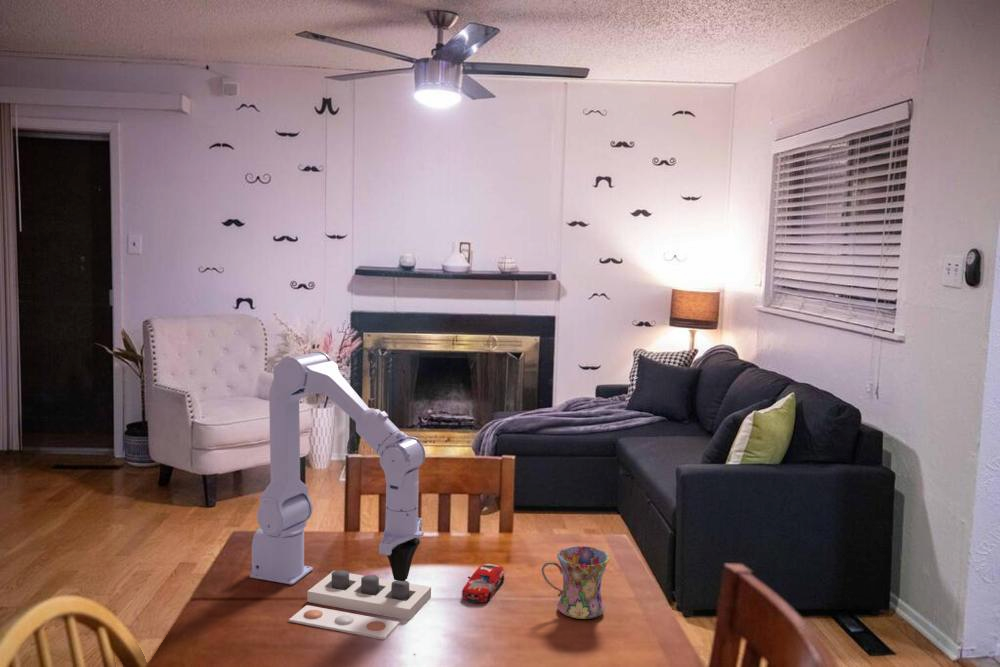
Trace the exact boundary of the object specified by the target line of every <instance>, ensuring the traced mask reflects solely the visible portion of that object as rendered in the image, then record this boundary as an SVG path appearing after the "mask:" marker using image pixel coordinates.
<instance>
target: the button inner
mask: <svg viewBox="0 0 1000 667" xmlns="http://www.w3.org/2000/svg"><path fill="white" fill-rule="evenodd" d="M333 571H334V572H333ZM333 571H332V572H333V573H332V572H331V573H332V588H334V589H340V590H345V589H347V588H349V573H350V572H349V571H348V570H344V569H343V570H342V569H339V570H333ZM345 591H346V590H345Z"/></svg>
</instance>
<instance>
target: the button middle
mask: <svg viewBox="0 0 1000 667" xmlns="http://www.w3.org/2000/svg"><path fill="white" fill-rule="evenodd" d="M379 578H380V577H379V576H377V575H374V574H367V575H363V577H362V578H361V593H362V594H368V595H374V596H376V595H375V594H377V593H378V592H379Z"/></svg>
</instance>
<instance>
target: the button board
mask: <svg viewBox="0 0 1000 667" xmlns="http://www.w3.org/2000/svg"><path fill="white" fill-rule="evenodd" d="M334 571H335V570H333V571H331V572H330V573H329V574H327V575H326V576H325V577H324V578H323V579H321V580H320V581H319V582H317V583H315V585H314V586H312V587H311V588H309V589H308V590H307V591H306V592H307V595H306V596H307V599H306V600H307V601H306V602H307V603H312V604H318V605H324V606H327V607H328V606H329V607H335V608H340V609H344V610H350V611H351V610H352V611H356V612H362V613H367V614H372V615H379V616H385V617H390V618H396V619H399V620H407V621H410V620H412V618H414V616H415V615H416V614H417V613H418V612H419V611H420V610H421V608H422V607H424V606H425V604H427V603H428V602H429V600H430V599H431V597H432V586H428V585H427V586H426V585H421V584H416V583H410V582H409V598H408V599H407V600H403V601H402V600H397V599H392V598H391V584H392V582H394V581H395V580H392V579H387V578H380V577H379V592H378V593H377V594H375V595H368V594H362V593H361V578H362V577H363V576H364V575H363V574H362V575H361V574H356V573H351V572H349V588H347V589H345V590H340V589H334V588H332V573H333V572H334Z"/></svg>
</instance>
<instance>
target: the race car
mask: <svg viewBox="0 0 1000 667" xmlns="http://www.w3.org/2000/svg"><path fill="white" fill-rule="evenodd" d="M467 579H468V581H467V583H465V585H464V587H463V588H462V591H461V596H462V597H461V598H463V600H465V601H468V602H472V603H489V601H490V600H491V598H492V597H493V596H494V595H495V594H496V592H497V591H498V590H499V588H500V587H501V586H502V585H503V584H504V581H505V570H504V567H503V566H501V565H500V564H493V563H485V564H482V565H480V566H479V567H478V568H477V569H476V570H475V571H474V572H473V574H472V575H471V576H467Z"/></svg>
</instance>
